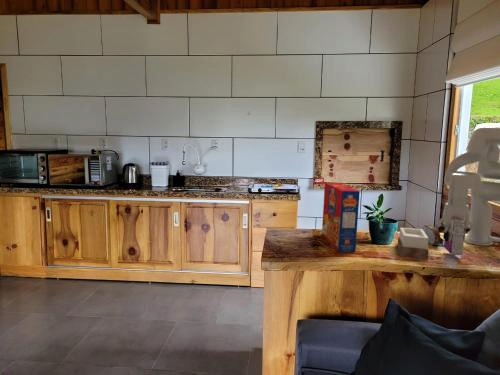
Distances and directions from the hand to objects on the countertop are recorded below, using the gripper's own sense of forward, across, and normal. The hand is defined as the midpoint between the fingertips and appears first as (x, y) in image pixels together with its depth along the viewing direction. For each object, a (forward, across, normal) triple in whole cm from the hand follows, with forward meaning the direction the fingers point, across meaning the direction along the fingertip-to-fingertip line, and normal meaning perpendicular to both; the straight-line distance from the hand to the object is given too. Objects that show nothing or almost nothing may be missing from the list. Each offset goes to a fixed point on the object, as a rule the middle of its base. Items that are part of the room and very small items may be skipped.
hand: (453, 240), depth 167 cm
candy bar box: (+5, 0, 0) cm, 5 cm away
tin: (+8, +7, -19) cm, 22 cm away
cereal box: (+7, +50, +3) cm, 51 cm away
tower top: (+3, +17, 0) cm, 17 cm away
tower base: (+7, +17, +1) cm, 18 cm away
